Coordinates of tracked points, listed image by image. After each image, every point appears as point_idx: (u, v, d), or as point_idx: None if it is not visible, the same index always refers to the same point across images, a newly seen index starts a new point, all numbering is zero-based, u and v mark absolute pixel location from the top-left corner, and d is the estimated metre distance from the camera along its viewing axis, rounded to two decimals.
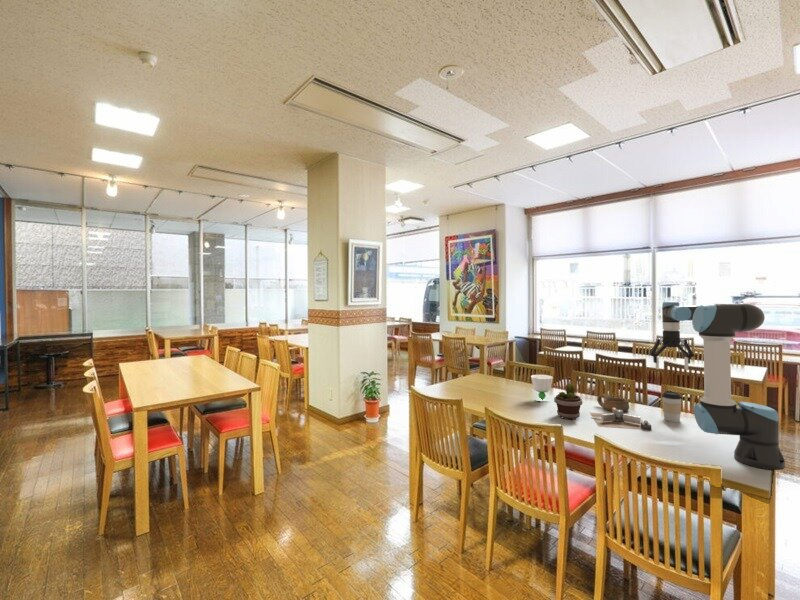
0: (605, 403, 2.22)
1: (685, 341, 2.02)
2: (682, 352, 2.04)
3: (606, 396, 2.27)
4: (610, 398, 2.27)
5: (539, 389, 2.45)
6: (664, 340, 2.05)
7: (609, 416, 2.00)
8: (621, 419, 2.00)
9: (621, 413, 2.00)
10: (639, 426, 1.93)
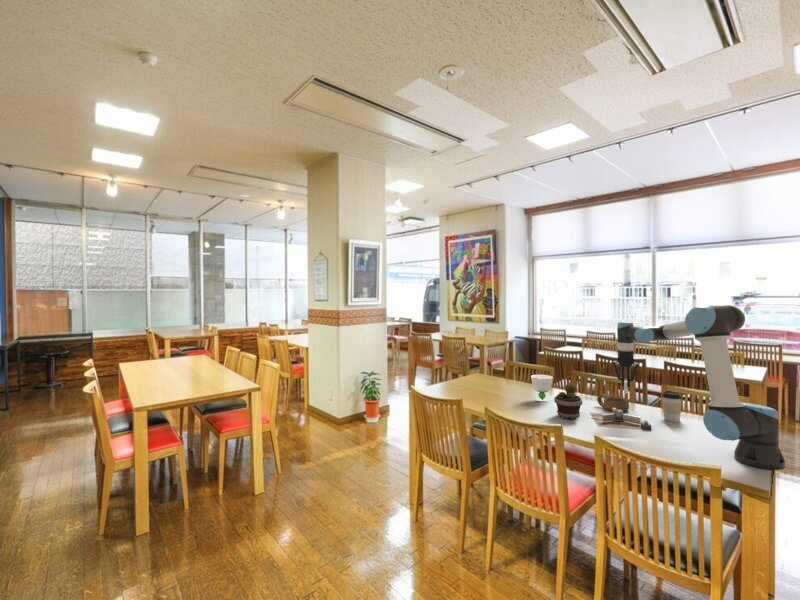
0: (605, 403, 2.22)
1: (636, 365, 2.03)
2: (627, 374, 2.07)
3: (606, 396, 2.27)
4: (610, 398, 2.27)
5: (539, 389, 2.45)
6: (617, 360, 2.08)
7: (609, 416, 2.00)
8: (621, 419, 2.00)
9: (621, 413, 2.00)
10: (639, 426, 1.93)
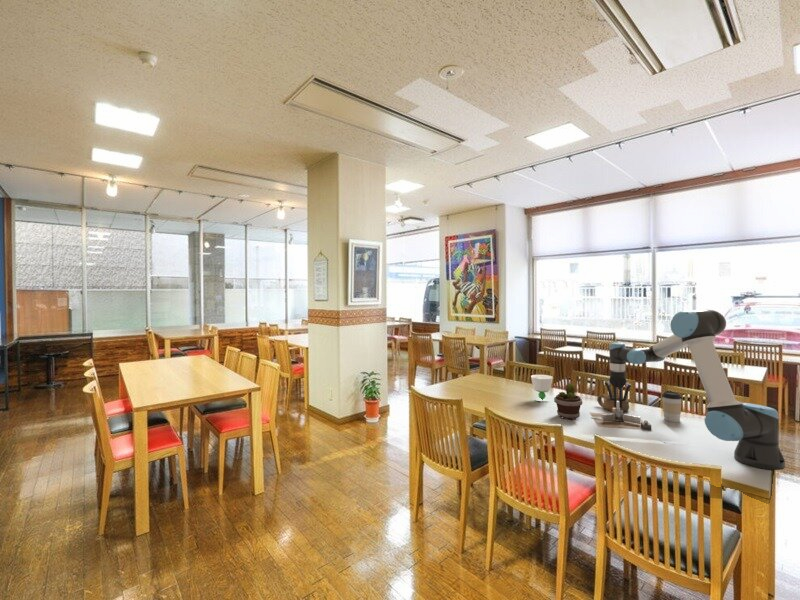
0: (605, 403, 2.22)
1: (628, 386, 2.05)
2: None
3: (606, 396, 2.27)
4: None
5: (539, 389, 2.45)
6: (610, 380, 2.11)
7: (609, 416, 2.00)
8: (621, 419, 2.00)
9: (621, 413, 2.00)
10: (639, 426, 1.93)
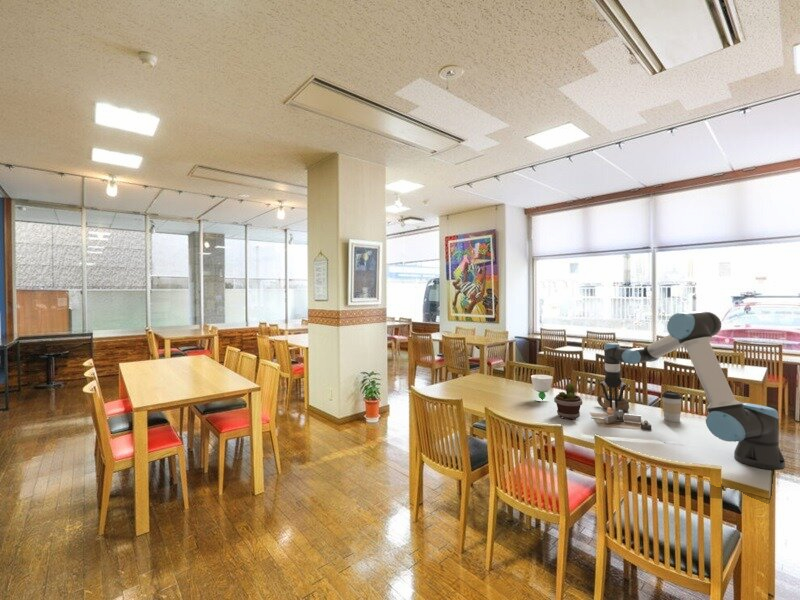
0: (605, 403, 2.22)
1: (624, 386, 2.07)
2: None
3: None
4: None
5: (539, 389, 2.45)
6: (605, 381, 2.11)
7: (612, 417, 1.99)
8: (622, 419, 2.01)
9: (622, 413, 2.01)
10: (639, 426, 1.93)
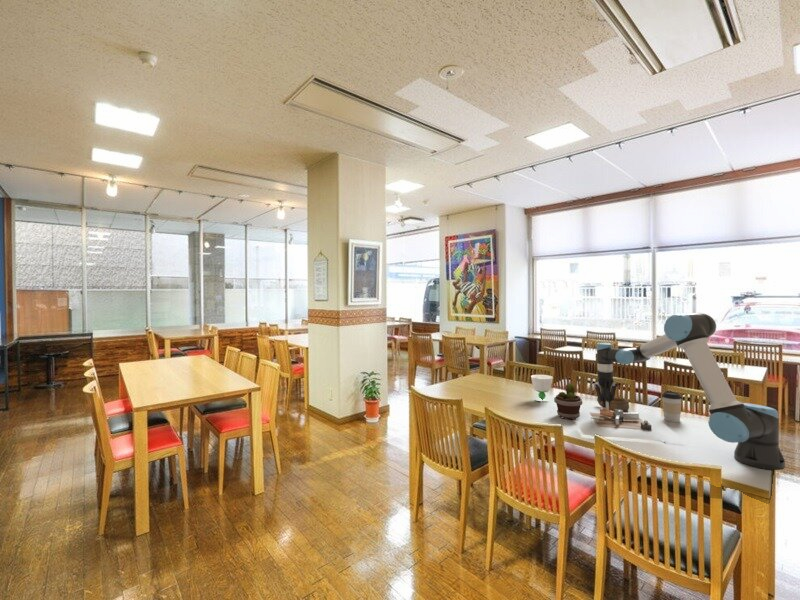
0: None
1: (616, 385, 2.09)
2: (606, 394, 2.11)
3: None
4: None
5: (539, 389, 2.45)
6: (600, 382, 2.10)
7: (619, 418, 1.97)
8: (623, 418, 2.01)
9: None
10: (639, 426, 1.93)
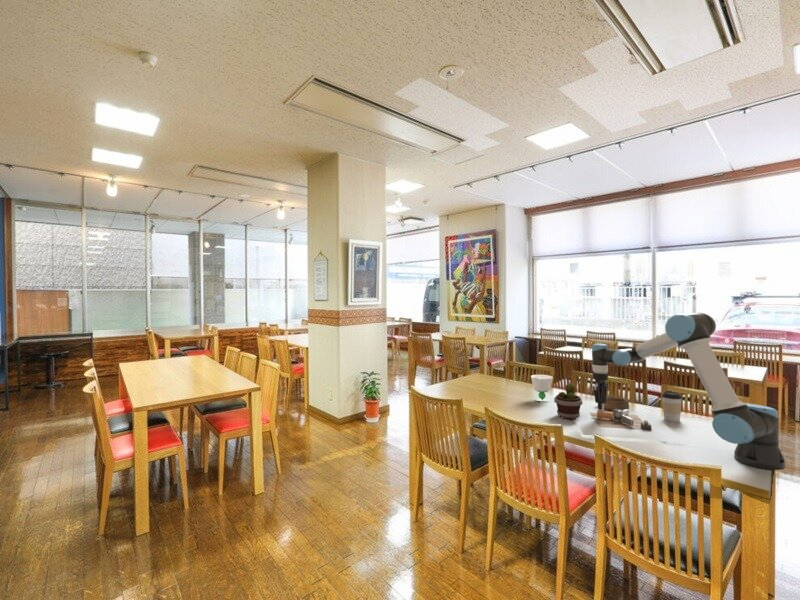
0: (605, 403, 2.22)
1: (607, 385, 2.10)
2: None
3: None
4: (610, 398, 2.27)
5: (539, 389, 2.45)
6: (599, 384, 2.04)
7: None
8: None
9: None
10: (639, 426, 1.93)
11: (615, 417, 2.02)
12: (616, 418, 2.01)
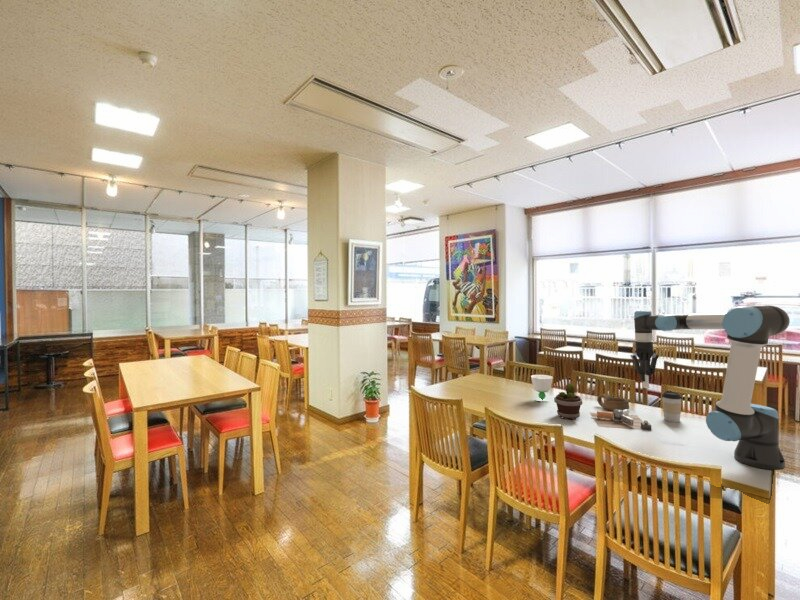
0: (605, 403, 2.22)
1: (656, 356, 1.90)
2: (645, 367, 1.92)
3: (606, 396, 2.27)
4: (610, 398, 2.27)
5: (539, 389, 2.45)
6: (638, 353, 1.91)
7: None
8: None
9: None
10: (639, 426, 1.93)
11: (615, 417, 2.02)
12: (616, 418, 2.01)
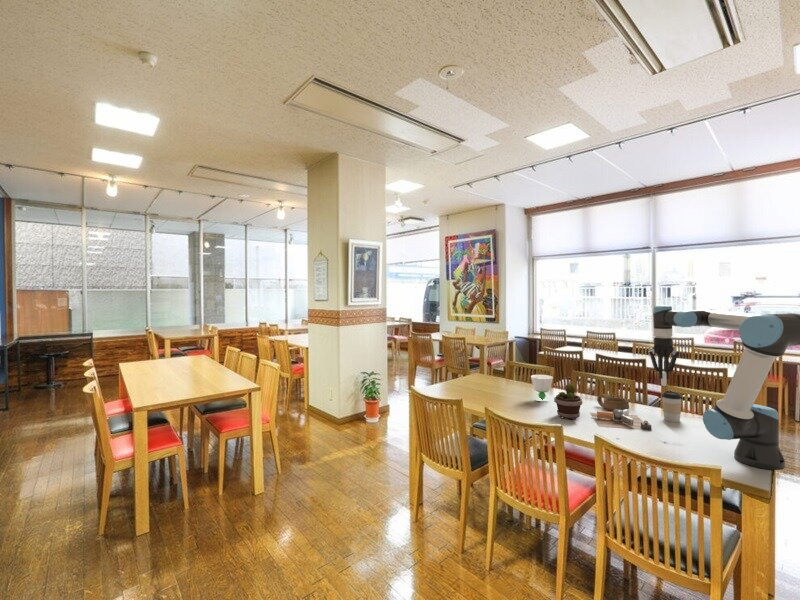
0: (605, 403, 2.22)
1: (676, 353, 1.82)
2: (664, 364, 1.85)
3: (606, 396, 2.27)
4: (610, 398, 2.27)
5: (539, 389, 2.45)
6: (655, 349, 1.85)
7: None
8: None
9: None
10: (639, 426, 1.93)
11: (615, 417, 2.02)
12: (616, 418, 2.01)
